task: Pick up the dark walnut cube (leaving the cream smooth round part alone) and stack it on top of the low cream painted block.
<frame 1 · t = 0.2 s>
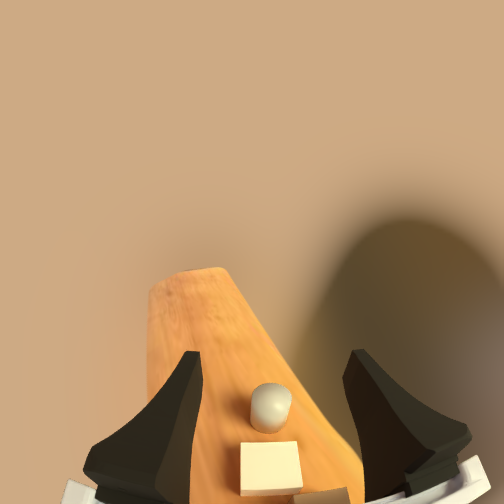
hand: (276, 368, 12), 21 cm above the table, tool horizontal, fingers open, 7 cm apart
cream block: (267, 474, 23), on the table
cream smooth round part: (267, 419, 30), on the table
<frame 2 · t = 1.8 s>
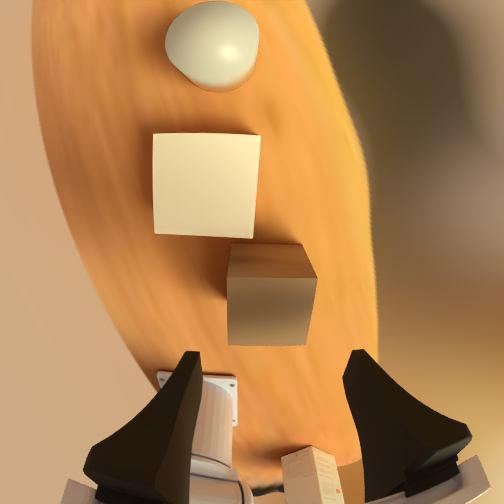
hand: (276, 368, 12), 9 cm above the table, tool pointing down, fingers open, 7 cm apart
small box: (308, 455, 34), on the table
walnut cube: (265, 274, 21), on the table
cream block: (209, 177, 18), on the table
cream smooth round part: (220, 61, 15), on the table
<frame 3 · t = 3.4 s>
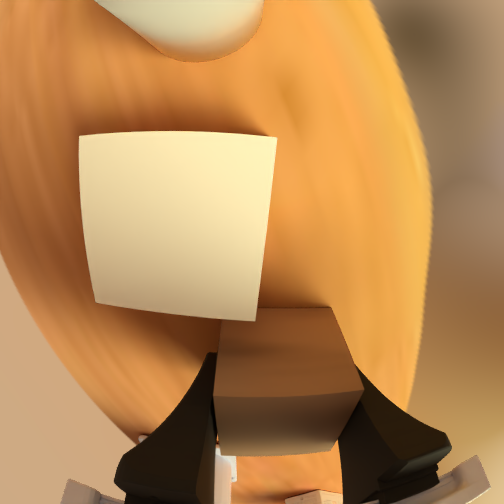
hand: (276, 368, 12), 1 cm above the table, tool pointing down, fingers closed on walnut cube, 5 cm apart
small box: (314, 495, 27), on the table
walnut cube: (274, 347, 14), on the table, touching gripper
cream block: (185, 206, 11), on the table
cream smooth round part: (202, 13, 7), on the table
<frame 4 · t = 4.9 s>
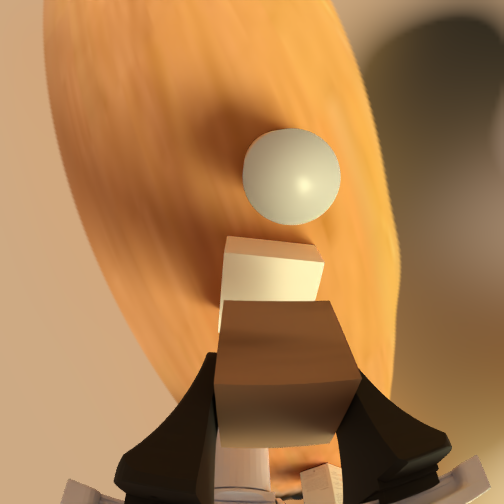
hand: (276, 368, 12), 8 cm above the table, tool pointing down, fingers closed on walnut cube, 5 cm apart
small box: (323, 469, 37), on the table
walnut cube: (273, 341, 14), point 7 cm above the table, touching gripper
cream block: (265, 277, 20), on the table
cream smooth round part: (280, 165, 17), on the table
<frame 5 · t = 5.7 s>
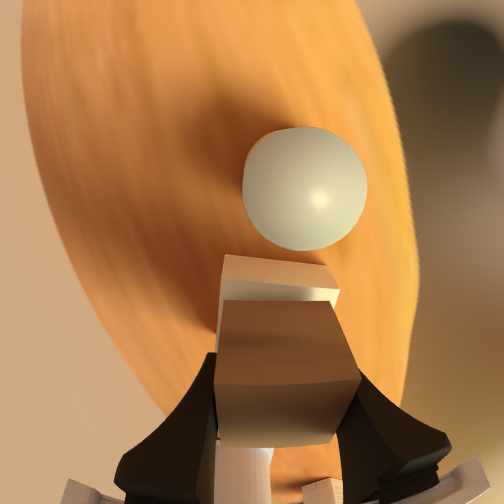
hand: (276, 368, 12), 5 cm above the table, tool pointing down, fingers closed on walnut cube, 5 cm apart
small box: (325, 483, 34), on the table
walnut cube: (273, 340, 14), point 4 cm above the table, touching gripper
cream block: (268, 300, 17), on the table
cream smooth round part: (287, 171, 14), on the table
when the fingers open (5 cm above the table, at t = 6.3 s): walnut cube stays where it is, point 3 cm above the table.
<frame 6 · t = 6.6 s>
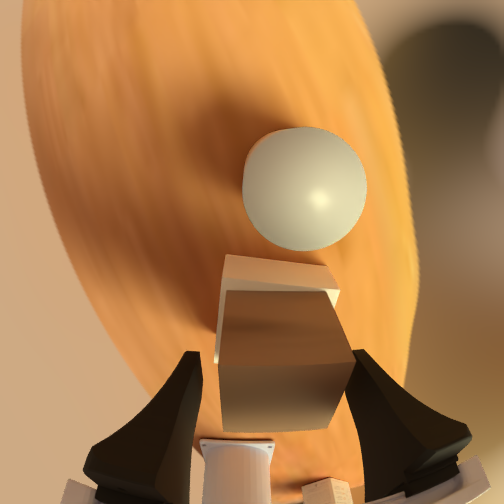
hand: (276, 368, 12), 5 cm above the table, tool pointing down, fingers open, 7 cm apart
small box: (325, 483, 34), on the table
walnut cube: (273, 330, 15), point 3 cm above the table
cream block: (269, 300, 17), on the table
cream smooth round part: (287, 172, 14), on the table
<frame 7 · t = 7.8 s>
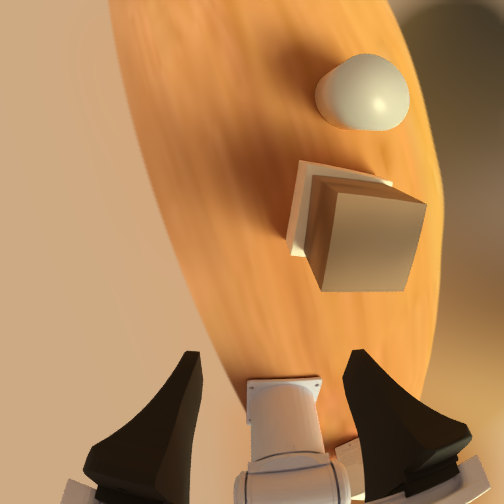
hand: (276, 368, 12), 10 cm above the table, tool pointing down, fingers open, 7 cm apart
small box: (357, 444, 37), on the table
walnut cube: (345, 216, 17), point 3 cm above the table
cream block: (330, 205, 20), on the table
cream smooth round part: (345, 99, 16), on the table
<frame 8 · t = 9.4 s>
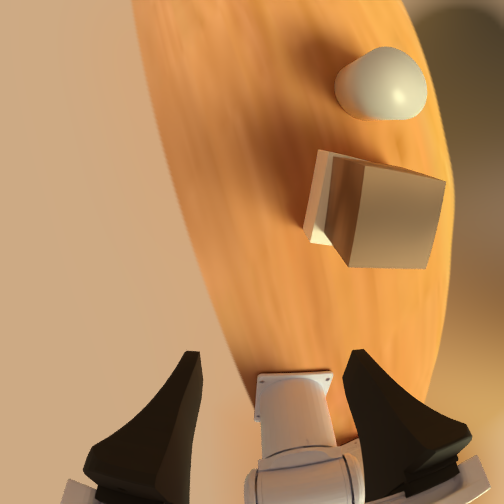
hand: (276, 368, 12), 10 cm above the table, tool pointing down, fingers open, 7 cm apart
small box: (362, 442, 36), on the table
walnut cube: (364, 199, 17), point 3 cm above the table, touching cream block
cream block: (347, 196, 20), on the table, touching walnut cube
cream smooth round part: (363, 91, 16), on the table
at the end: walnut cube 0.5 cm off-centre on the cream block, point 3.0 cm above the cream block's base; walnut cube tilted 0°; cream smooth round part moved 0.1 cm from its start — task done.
